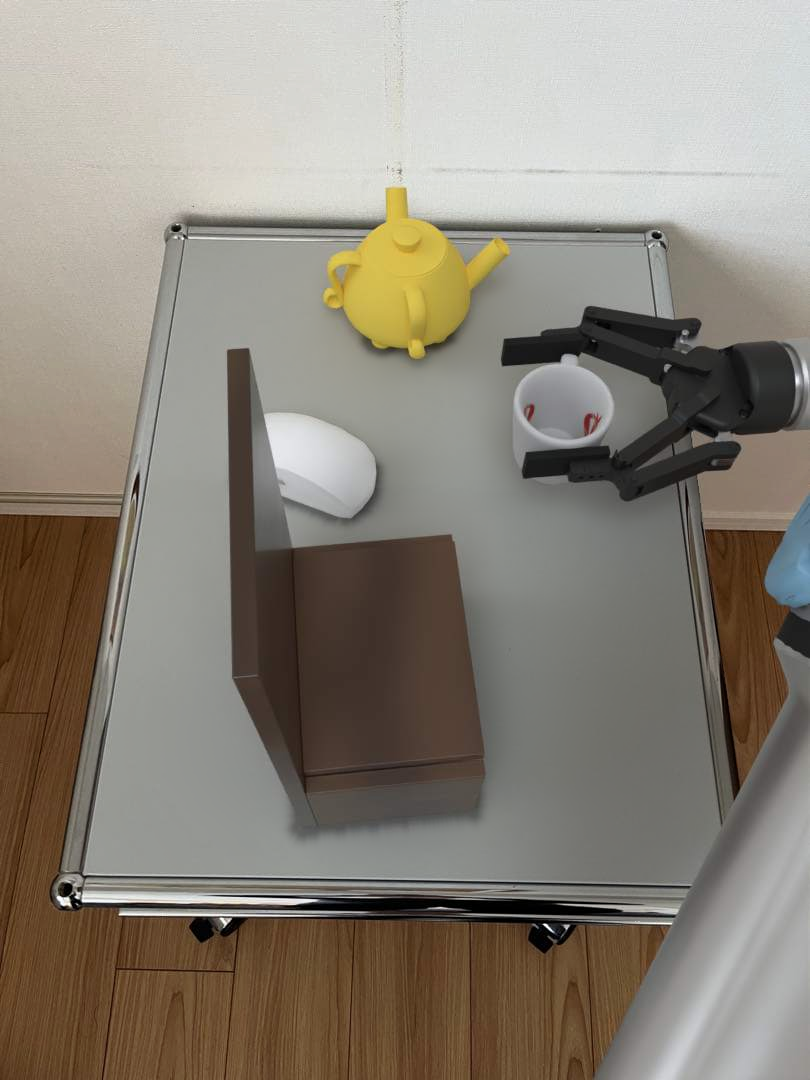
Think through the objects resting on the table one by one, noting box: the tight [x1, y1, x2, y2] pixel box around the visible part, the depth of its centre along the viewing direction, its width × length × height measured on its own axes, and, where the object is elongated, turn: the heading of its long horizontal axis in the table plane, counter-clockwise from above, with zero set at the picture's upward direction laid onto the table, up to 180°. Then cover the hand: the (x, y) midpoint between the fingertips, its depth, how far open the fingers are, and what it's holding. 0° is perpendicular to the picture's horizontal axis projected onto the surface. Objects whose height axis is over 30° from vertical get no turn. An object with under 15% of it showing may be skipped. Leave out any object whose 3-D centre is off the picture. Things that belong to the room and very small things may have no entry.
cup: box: [512, 354, 615, 486], centre depth 78 cm, size 11×8×8 cm
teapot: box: [322, 186, 511, 360], centre depth 90 cm, size 14×14×11 cm
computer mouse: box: [263, 411, 377, 519], centre depth 83 cm, size 6×13×6 cm, turn 67°
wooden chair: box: [226, 347, 486, 829], centre depth 61 cm, size 13×18×34 cm
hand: (513, 407), depth 76 cm, fingers closed on cup, 10 cm apart
